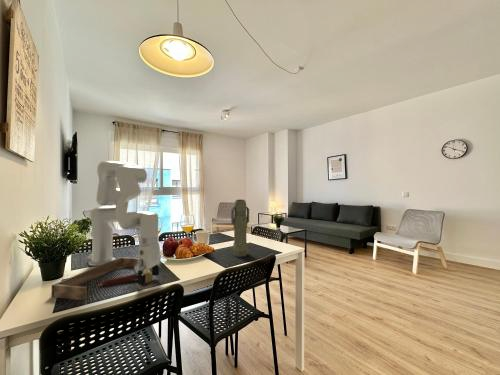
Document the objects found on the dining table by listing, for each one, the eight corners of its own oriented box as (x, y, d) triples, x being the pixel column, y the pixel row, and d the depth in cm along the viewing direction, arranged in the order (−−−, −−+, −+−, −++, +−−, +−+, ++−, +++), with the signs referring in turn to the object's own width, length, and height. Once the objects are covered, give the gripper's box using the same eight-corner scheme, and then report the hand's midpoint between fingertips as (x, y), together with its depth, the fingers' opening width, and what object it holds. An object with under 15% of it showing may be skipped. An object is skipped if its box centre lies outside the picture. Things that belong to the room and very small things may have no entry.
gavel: (95, 284, 88) (98, 276, 96) (96, 295, 88) (99, 286, 96) (152, 271, 98) (150, 264, 107) (152, 281, 98) (151, 274, 107)
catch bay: (51, 296, 84) (51, 285, 84) (120, 265, 118) (120, 257, 118) (83, 300, 81) (84, 288, 81) (145, 267, 116) (145, 258, 116)
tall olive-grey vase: (251, 254, 137) (252, 199, 138) (235, 258, 131) (235, 200, 131) (244, 251, 145) (244, 199, 145) (228, 254, 138) (229, 199, 139)
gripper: (143, 246, 87) (143, 288, 87) (167, 236, 104) (167, 272, 104) (127, 245, 88) (127, 287, 88) (153, 236, 105) (153, 271, 105)
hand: (148, 279), depth 96 cm, fingers open, 9 cm apart
